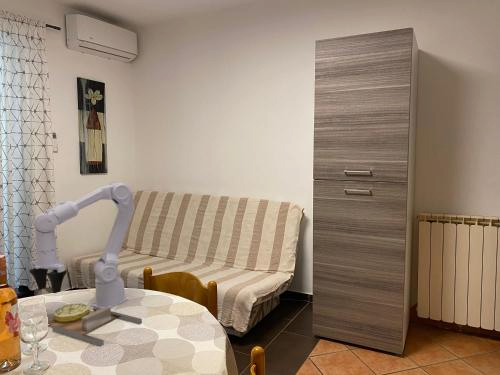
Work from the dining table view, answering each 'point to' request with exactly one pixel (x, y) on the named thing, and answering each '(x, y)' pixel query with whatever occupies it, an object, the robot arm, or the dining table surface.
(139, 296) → the dining table surface
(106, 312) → the brown square board
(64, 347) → the dining table surface
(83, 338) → the rails
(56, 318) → the decorated donut
